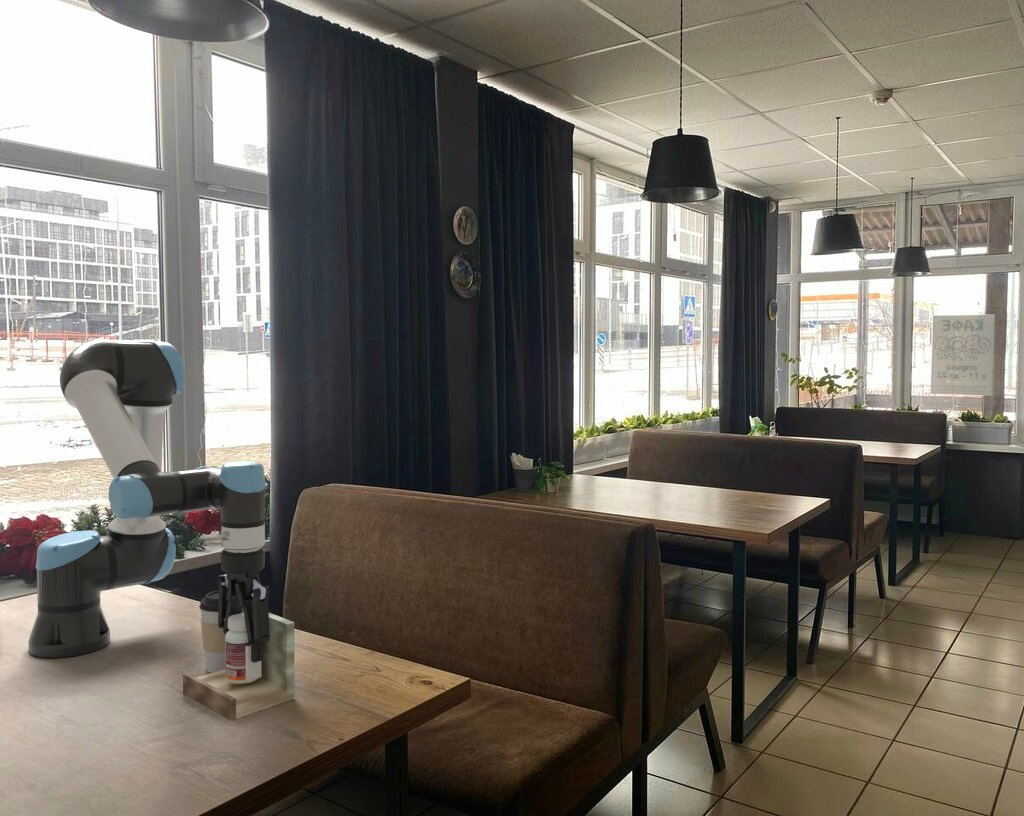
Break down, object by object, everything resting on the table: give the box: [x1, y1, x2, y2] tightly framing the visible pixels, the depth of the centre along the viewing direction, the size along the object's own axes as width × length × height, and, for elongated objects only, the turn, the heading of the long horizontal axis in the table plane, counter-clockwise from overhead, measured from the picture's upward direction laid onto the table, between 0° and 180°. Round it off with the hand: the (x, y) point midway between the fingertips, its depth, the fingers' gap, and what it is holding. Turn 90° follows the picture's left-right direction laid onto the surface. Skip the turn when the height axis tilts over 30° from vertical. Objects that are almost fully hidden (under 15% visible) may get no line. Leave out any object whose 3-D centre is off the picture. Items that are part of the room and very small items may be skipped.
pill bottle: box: [225, 613, 258, 684], centre depth 150 cm, size 6×6×11 cm
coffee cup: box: [199, 590, 248, 674], centre depth 162 cm, size 9×9×15 cm
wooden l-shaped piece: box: [182, 608, 295, 721], centre depth 149 cm, size 17×12×14 cm
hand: (243, 673), depth 150 cm, fingers closed on pill bottle, 6 cm apart
